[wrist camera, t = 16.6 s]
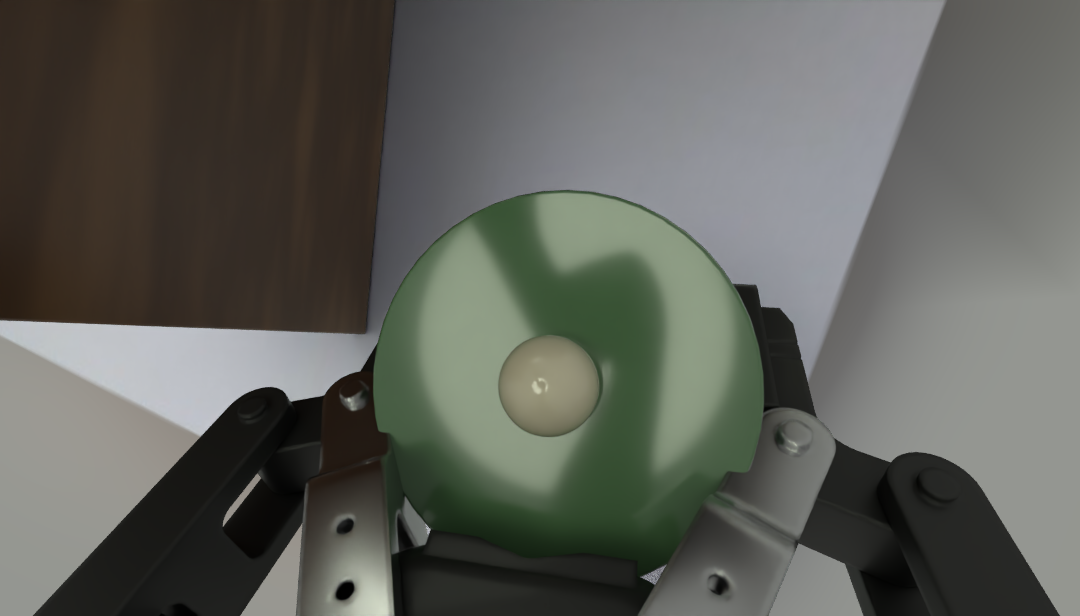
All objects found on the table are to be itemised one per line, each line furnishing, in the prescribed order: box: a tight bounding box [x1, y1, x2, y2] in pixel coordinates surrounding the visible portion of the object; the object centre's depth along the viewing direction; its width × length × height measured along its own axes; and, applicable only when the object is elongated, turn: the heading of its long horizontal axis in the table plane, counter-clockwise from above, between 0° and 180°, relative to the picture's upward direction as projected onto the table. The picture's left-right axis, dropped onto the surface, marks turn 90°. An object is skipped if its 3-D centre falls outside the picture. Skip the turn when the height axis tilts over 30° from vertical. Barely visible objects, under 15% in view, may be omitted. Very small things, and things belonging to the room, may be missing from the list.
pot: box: [373, 190, 764, 577], centre depth 12 cm, size 7×7×10 cm
